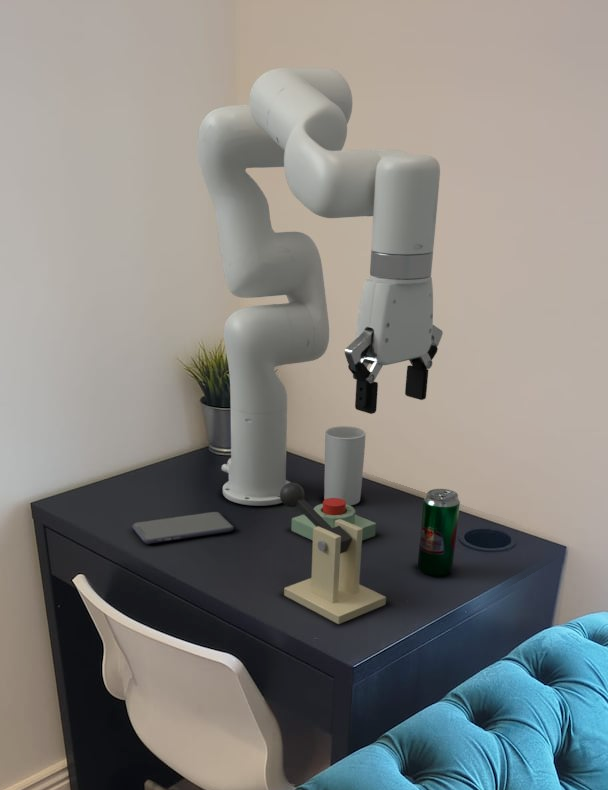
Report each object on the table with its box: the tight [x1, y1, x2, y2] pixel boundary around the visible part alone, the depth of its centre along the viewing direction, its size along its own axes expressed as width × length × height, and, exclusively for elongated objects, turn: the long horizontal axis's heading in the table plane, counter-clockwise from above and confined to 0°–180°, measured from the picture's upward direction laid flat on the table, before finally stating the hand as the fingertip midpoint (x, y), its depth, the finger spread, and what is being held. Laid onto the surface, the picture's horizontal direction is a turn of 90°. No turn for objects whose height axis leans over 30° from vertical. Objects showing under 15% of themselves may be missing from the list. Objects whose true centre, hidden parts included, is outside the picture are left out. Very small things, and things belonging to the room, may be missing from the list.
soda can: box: [417, 488, 461, 578], centre depth 140 cm, size 5×5×12 cm
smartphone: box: [131, 511, 234, 545], centre depth 156 cm, size 8×1×15 cm
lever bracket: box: [283, 519, 387, 625], centre depth 132 cm, size 11×9×11 cm
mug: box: [323, 425, 367, 506], centre depth 166 cm, size 10×7×12 cm, turn 13°
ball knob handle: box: [280, 482, 352, 554], centre depth 133 cm, size 13×3×3 cm, turn 39°
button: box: [322, 498, 346, 515], centre depth 153 cm, size 4×4×2 cm
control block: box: [291, 503, 377, 542], centre depth 154 cm, size 10×9×4 cm
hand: (390, 404), depth 128 cm, fingers open, 9 cm apart
